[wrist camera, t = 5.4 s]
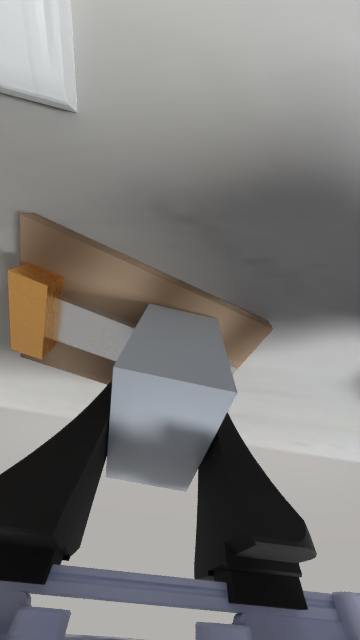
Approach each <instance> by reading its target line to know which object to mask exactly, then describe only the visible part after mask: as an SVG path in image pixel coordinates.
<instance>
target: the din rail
mask: <svg viewBox="0 0 360 640" xmlns="http://www.w3.org/2000/svg"><path fill="white" fill-rule="evenodd" d="M7 272H8V295H9V318H10V341H11V350H14V351H17V352H20V353H23V354H26V355H29V356H32V357H35V358H38V359H41V360H42V359H43V358H44V357H45V356H46V355H47V354H48V353H49V352H50V351H51V350H52V349H53V348H54V347H55V344H56V341H59V342H62V343H65V344H67V345H70V346H73V347H76V348H79V349H82V350H85V351H87V352H90V353H93V354H96V355H99V356H102V357H105V358H107V359H110V360H113V361H117V359H118V358H119V356H120V354H121V352H122V351H123V349H124V347H125V345H126V344H127V342H128V340H129V338H130V337H131V335H132V333H133V331H134V330H135V328H136V326H137V324H136V323H134V322H131V321H129V320H126V319H123V318H121V317H118V316H116V315H113V314H111V313H108V312H106V311H103V310H101V309H98V308H96V307H93V306H91V305H88V304H86V303H83V302H81V301H78V300H76V299H73V298H70V297H68V296H65V295H63V294H62V289H63V281H64V277H63V276H61V275H58V274H56V273H54V272H51V271H49V270H46V269H44V268H41V267H39V266H37V265H34V264H32V263H26V264H23V265H20V266H17V267H14V268H11V269H8V270H7ZM228 361H229V360H228ZM229 364H230V368H231V372H232V374H233V373H234V371H235V370H236V369H237V367H236V364H235V363H234V362H232V361H229Z"/></svg>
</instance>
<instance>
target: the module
mask: <svg viewBox="0 0 360 640" xmlns="http://www.w3.org/2000/svg"><path fill="white" fill-rule="evenodd" d="M236 394H237V390H236V387H235V383H234V379H233V375H232V372H231V368H230V364H229V361H228V357H227V353H226V349H225V346H224V342H223V338H222V335H221V331H220V327H219V323H218V320H217V319H216V318H211V317H207V316H203V315H198V314H194V313H189V312H185V311H181V310H176V309H172V308H167V307H163V306H159V305H154V304H150V303H149V305H148V307H147V308H146V310H145V312H144V314H143V315H142V317H141V319H140V321H139V322H138V324H137V326H136V328H135V330H134V331H133V333H132V335H131V337H130V338H129V340H128V342H127V344H126V345H125V347H124V349H123V351H122V352H121V354H120V356H119V358H118V359H117V361H116V363H115V365H114V367H113V379H112V394H111V408H110V422H109V437H108V451H107V466H106V477H109V478H115V479H120V480H125V481H130V482H137V483H142V484H147V485H152V486H158V487H164V488H169V489H174V490H180V491H185V492H186V491H187V489H188V487H189V485H190V483H191V481H192V479H193V477H194V475H195V473H196V471H197V470H198V468H199V466H200V464H201V462H202V460H203V458H204V456H205V454H206V452H207V450H208V448H209V446H210V444H211V442H212V441H213V439H214V437H215V435H216V433H217V431H218V429H219V427H220V425H221V423H222V421H223V419H224V417H225V415H226V413H227V412H228V410H229V408H230V406H231V404H232V402H233V400H234V398H235V396H236Z"/></svg>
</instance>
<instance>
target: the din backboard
mask: <svg viewBox="0 0 360 640" xmlns="http://www.w3.org/2000/svg"><path fill="white" fill-rule="evenodd" d="M26 263H32V264H34V265H37V266H39V267H41V268H44V269H46V270H49V271H51V272H54V273H56V274H58V275H61V276H63V277H64V281H63V289H62V294H63V295H65V296H68V297H70V298H73V299H76V300H78V301H81V302H83V303H86V304H88V305H91V306H93V307H96V308H98V309H101V310H103V311H106V312H108V313H111V314H113V315H116V316H118V317H121V318H123V319H126V320H129V321H131V322H134V323H136V324H138V322H139V321H140V319H141V317H142V315H143V314H144V312H145V310H146V308H147V307H148V305H149V303H150V304H154V305H159V306H163V307H167V308H172V309H176V310H181V311H185V312H189V313H194V314H198V315H203V316H207V317H211V318H216V319H217V320H218V323H219V327H220V331H221V335H222V338H223V342H224V346H225V349H226V353H227V357H228V360H229V361H232V362H234V363H235V364H236V367H237V369H238V368H239V366H240V365H241V364H242V363H243V362H244V361H245V360H246V359H247V358H248V356H249V355H250V354H251V353H252V352H253V351H254V350H255V349H256V348H257V346H258V345H259V344H260V343H261V342H262V341H263V340H264V339H265V338H266V336H267V335H268V334H269V333H270V332H271V331H272V330H273V328H272V327H271V325H270V324H269V322H268V321H266V320H264V319H262V318H260V317H258V316H255V315H253V314H251V313H249V312H247V311H245V310H242V309H240V308H238V307H236V306H234V305H232V304H229V303H227V302H225V301H223V300H221V299H219V298H216V297H214V296H212V295H210V294H208V293H206V292H204V291H201V290H199V289H197V288H195V287H193V286H191V285H188V284H186V283H184V282H182V281H180V280H178V279H175V278H173V277H171V276H169V275H167V274H165V273H162V272H160V271H158V270H156V269H154V268H152V267H149V266H147V265H145V264H143V263H141V262H139V261H136V260H134V259H132V258H130V257H128V256H126V255H123V254H121V253H119V252H117V251H115V250H113V249H111V248H108V247H106V246H104V245H102V244H100V243H98V242H95V241H93V240H91V239H89V238H87V237H85V236H82V235H80V234H78V233H76V232H74V231H72V230H69V229H67V228H65V227H63V226H61V225H59V224H56V223H54V222H52V221H50V220H48V219H46V218H43V217H41V216H39V215H37V214H35V213H20V265H23V264H26ZM21 357H24V358H27V359H30V360H33V361H36V362H39V363H42V364H45V365H49V366H52V367H55V368H58V369H61V370H64V371H67V372H70V373H73V374H76V375H80V376H83V377H86V378H89V379H92V380H95V381H98V382H101V383H104V384H107V385H108V384H109V383H110V382H111V381H112V379H113V367H114V365H115V363H116V361H113V360H110V359H107V358H105V357H102V356H99V355H96V354H93V353H90V352H87V351H85V350H82V349H79V348H76V347H73V346H70V345H67V344H65V343H62V342H59V341H56V344H55V347H54V348H53V349H52V350H51V351H50V352H49V353H48V354H47V355H46V356H45V357H44V358H43V359H42V360H41V359H38V358H35V357H32V356H29V355H26V354H23V353H21ZM237 369H236V370H237ZM236 370H235V371H236ZM235 371H234V372H235Z"/></svg>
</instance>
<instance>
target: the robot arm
mask: <svg viewBox="0 0 360 640" xmlns="http://www.w3.org/2000/svg"><path fill="white" fill-rule="evenodd" d="M111 394H112V381H111V382H110V383H109V384H108V385H107V386H106V388H105V389H104V390H103V391H102V392H101V393H100V394H99V395H98V396H97V397H96V398H95V399H94V400H93V401H92V403H91V404H90V405H89V406H88V407H87V408H85V409H84V410H83V411H82V412H81V413H80V414H79V415H78V416H77V417H76V418H75V419H74V420H72V421H71V422H70V423H69V424H68V425H67V426H65V427H64V428H63V429H62V430H61V431H59V432H58V433H57V434H56V435H55V436H54V437H52V438H51V439H49V440H48V441H47V442H45V443H44V444H43V445H41V446H40V447H39V448H37V449H36V450H35V451H34V452H32V453H31V454H29V455H28V456H27V457H25V458H24V459H22V460H21V461H19V462H18V463H17V464H15V465H14V466H12V467H11V468H9V469H8V470H6V471H5V472H3V473H2V474H0V640H142V639H130V638H117V637H103V636H87V635H69V634H65V632H66V629H67V625H68V621H69V618H70V615H71V612H70V610H62V609H52V608H41V607H32V606H31V597H30V594H28V593H31V594H41V595H52V596H62V597H74V598H83V599H95V600H105V601H115V602H127V603H136V604H147V605H158V606H169V607H180V608H190V609H200V610H211V611H221V612H231V613H237V614H236V615H235V616H234V620H233V623H232V624H220V623H206V622H205V623H204V622H197V623H196V640H360V593H352V592H333V593H332V594H328V593H319V592H309V591H303V590H302V587H301V583H300V580H299V577H302V573H301V570H300V567H299V562H303V561H307V560H311V559H313V558H315V557H316V554H317V553H316V551H315V548H314V545H313V542H312V539H311V536H310V534H309V531H308V529H307V527H306V524H305V522H304V520H303V519H302V518H301V517H300V516H299V514H298V513H297V512H296V511H295V510H294V509H293V507H292V506H291V505H290V504H289V503H288V502H287V501H286V500H285V498H284V497H283V496H282V495H281V493H280V492H279V491H278V490H277V488H276V487H275V486H274V484H273V483H272V482H271V481H270V479H269V478H268V477H267V475H266V474H265V472H264V471H263V470H262V468H261V467H260V466H259V464H258V463H257V461H256V460H255V459H254V457H253V456H252V454H251V453H250V451H249V449H248V448H247V446H246V445H245V443H244V442H243V440H242V438H241V437H240V435H239V433H238V431H237V430H236V428H235V426H234V424H233V422H232V420H231V418H230V416H229V414H228V412H227V413H226V415H225V417H224V419H223V421H222V423H221V425H220V427H219V429H218V431H217V433H216V435H215V437H214V439H213V441H212V442H211V444H210V446H209V448H208V450H207V452H206V454H205V456H204V458H203V460H202V462H201V464H200V466H199V468H198V506H197V529H196V547H195V562H194V577H195V579H187V578H178V577H169V576H159V575H150V574H140V573H130V572H122V571H112V570H102V569H94V568H84V567H75V566H64V565H60V564H61V561H62V560H66V561H69V559H70V556H71V555H73V554H74V553H75V552H76V551H77V550H78V549H79V548H80V545H81V541H82V537H83V534H84V531H85V527H86V524H87V520H88V517H89V513H90V510H91V506H92V503H93V500H94V496H95V493H96V490H97V486H98V483H99V480H100V476H101V473H102V470H103V467H104V463H105V460H106V457H107V451H108V437H109V422H110V408H111Z"/></svg>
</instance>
